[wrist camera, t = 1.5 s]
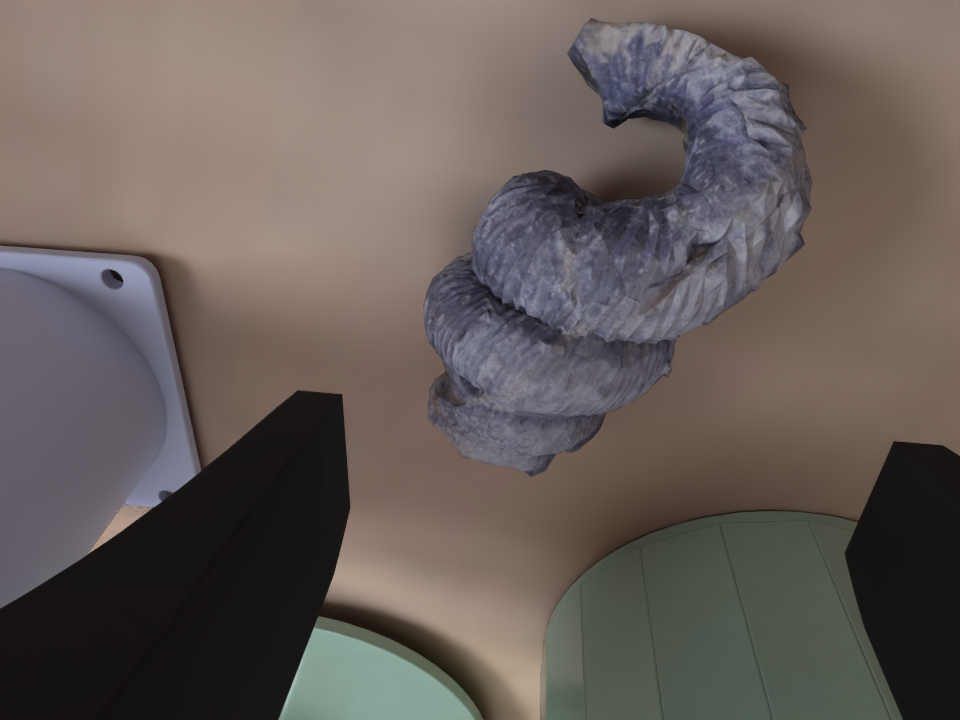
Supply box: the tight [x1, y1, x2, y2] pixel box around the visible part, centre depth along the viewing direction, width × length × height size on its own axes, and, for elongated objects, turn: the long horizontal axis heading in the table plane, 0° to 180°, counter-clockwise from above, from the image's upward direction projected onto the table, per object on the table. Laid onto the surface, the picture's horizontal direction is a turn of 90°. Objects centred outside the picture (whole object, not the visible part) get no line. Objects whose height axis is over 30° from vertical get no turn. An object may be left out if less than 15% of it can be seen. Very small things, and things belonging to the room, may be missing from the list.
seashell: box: [424, 18, 812, 477], centre depth 14 cm, size 5×5×10 cm
